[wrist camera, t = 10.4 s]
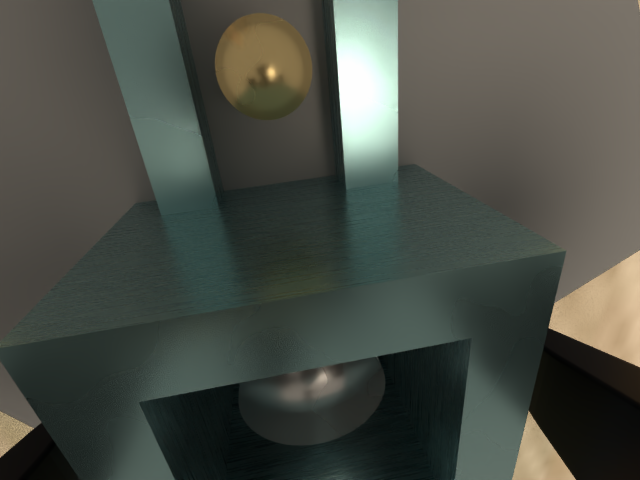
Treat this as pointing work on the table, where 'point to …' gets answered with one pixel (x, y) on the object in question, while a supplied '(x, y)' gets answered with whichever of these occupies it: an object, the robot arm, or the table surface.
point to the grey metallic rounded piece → (313, 402)
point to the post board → (316, 129)
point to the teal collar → (286, 289)
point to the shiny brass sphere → (263, 66)
